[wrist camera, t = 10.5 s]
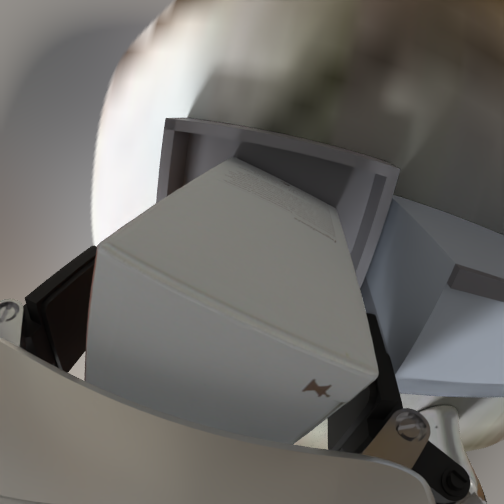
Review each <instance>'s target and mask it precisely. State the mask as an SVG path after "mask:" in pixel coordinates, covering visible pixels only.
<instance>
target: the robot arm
mask: <svg viewBox="0 0 504 504" xmlns="http://www.w3.org/2000/svg"><path fill="white" fill-rule="evenodd" d="M96 251H97V247H96V246H91V247H90V248H88V249H87V250H86V251H84V252H83V253H82V254H80V255H79V256H77V257H76V258H75V259H73V260H72V261H71V262H69V263H68V264H67V265H65V266H64V267H63V268H62V269H60V270H59V271H58V272H56V273H55V274H54V275H53V276H51V277H50V278H49V279H47V280H46V281H45V282H44V283H42V284H41V285H40V286H39V287H37V288H36V289H35V290H34V291H33V292H31V293H30V294H29V295H28V296H26V297H25V301H26V304H25V305H24V306H23V305H22V303H21V302H19V301H18V300H15V299H5V300H2V301H0V504H483V502H482V501H481V500H480V498H479V497H478V496H477V494H476V493H475V492H473V493H472V494H471V493H470V492H469V489H470V477H469V475H468V473H467V471H466V470H465V469H464V468H463V467H462V466H460V465H459V464H458V463H457V462H455V461H454V460H453V459H451V458H450V457H449V456H448V455H446V454H445V453H444V452H442V451H441V450H440V449H439V448H437V447H436V446H435V445H434V444H432V443H431V442H430V441H429V437H430V434H431V430H430V425H429V423H428V421H427V419H426V418H425V417H424V416H423V415H422V414H421V413H419V412H417V411H416V410H413V409H409V408H405V409H403V406H402V401H401V397H400V393H399V389H398V385H397V381H396V377H395V373H394V369H393V366H392V362H391V358H390V356H389V354H388V353H386V349H385V346H384V342H383V338H382V335H381V332H380V328H379V325H378V321H377V318H376V316H375V314H370V313H366V315H367V319H368V323H369V329H370V333H371V337H372V341H373V347H374V352H375V356H376V361H377V365H378V371H379V374H378V377H377V378H376V380H375V381H373V382H372V383H371V384H370V385H368V386H367V387H366V388H365V389H364V390H362V391H361V392H360V393H359V394H358V395H356V396H355V397H354V398H353V399H352V400H351V401H349V402H348V403H346V404H344V405H343V406H342V407H341V408H339V409H338V410H337V411H336V412H334V413H333V414H332V415H331V416H329V417H328V450H326V449H318V448H311V447H304V446H298V445H292V444H286V443H280V442H275V441H269V440H264V439H259V438H254V437H249V436H245V435H240V434H236V433H232V432H228V431H224V430H220V429H216V428H212V427H208V426H205V425H201V424H198V423H194V422H191V421H188V420H184V419H181V418H178V417H175V416H172V415H169V414H166V413H163V412H160V411H157V410H154V409H151V408H148V407H146V406H143V405H140V404H138V403H135V402H132V401H130V400H127V399H125V398H122V397H120V396H117V395H115V394H113V393H110V392H108V391H106V390H103V389H101V388H99V387H96V386H94V385H92V384H90V383H88V382H86V381H83V380H81V379H79V378H77V377H75V376H73V375H71V374H69V373H68V372H69V371H70V369H71V368H72V367H73V366H74V364H75V363H76V362H77V361H78V359H79V358H80V357H81V356H82V354H83V353H84V352H85V351H86V334H87V321H88V310H89V301H90V292H91V285H92V278H93V271H94V265H95V258H96Z"/></svg>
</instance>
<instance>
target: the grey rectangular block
mask: <svg viewBox="0 0 504 504" xmlns="http://www.w3.org/2000/svg"><path fill="white" fill-rule="evenodd" d="M360 291H361V294H362V298H363V302H364V306H365V309H366V313H370V314H375V316H376V318H377V321H378V325H379V328H380V332H381V335H382V338H383V342H384V346H385V349H386V353H388V354H389V356H390V358H391V362H392V366H393V369H394V373H395V377H396V381H397V385H398V389H399V393H404V394H415V395H429V396H447V397H504V235H502V234H499V233H497V232H494V231H492V230H490V229H487V228H485V227H482V226H480V225H477V224H475V223H472V222H470V221H467V220H465V219H462V218H459V217H457V216H454V215H451V214H449V213H446V212H443V211H440V210H438V209H435V208H432V207H429V206H426V205H423V204H420V203H417V202H414V201H411V200H408V199H405V198H402V197H399V196H396V195H393V197H392V200H391V204H390V207H389V210H388V213H387V216H386V219H385V222H384V225H383V228H382V231H381V234H380V237H379V240H378V243H377V246H376V249H375V251H374V254H373V257H372V260H371V262H370V265H369V268H368V270H367V273H366V276H365V278H364V281H363V283H362V286H361V288H360Z"/></svg>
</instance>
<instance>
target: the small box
mask: <svg viewBox="0 0 504 504" xmlns="http://www.w3.org/2000/svg"><path fill="white" fill-rule="evenodd" d="M378 374H379V371H378V365H377V361H376V356H375V352H374V347H373V341H372V337H371V333H370V329H369V323H368V319H367V315H366V311H365V307H364V303H363V299H362V295H361V291H360V288H359V284H358V281H357V276H356V273H355V270H354V266H353V262H352V259H351V255H350V252H349V249H348V246H347V242H346V239H345V235H344V232H343V229H342V226H341V223H340V220H339V216H338V213H337V210H336V208H334V207H332V206H330V205H328V204H327V203H325V202H323V201H321V200H319V199H317V198H316V197H314V196H312V195H310V194H308V193H306V192H304V191H302V190H300V189H299V188H297V187H295V186H293V185H291V184H289V183H287V182H285V181H283V180H281V179H279V178H277V177H275V176H273V175H271V174H269V173H267V172H265V171H263V170H261V169H259V168H257V167H255V166H253V165H251V164H248V163H246V162H244V161H242V160H240V159H238V158H236V157H231V158H229V159H227V160H226V161H224V162H222V163H221V164H219V165H217V166H216V167H214V168H212V169H210V170H209V171H207V172H205V173H204V174H202V175H200V176H199V177H197V178H195V179H194V180H192V181H190V182H189V183H188V184H186V185H184V186H183V187H181V188H179V189H178V190H176V191H175V192H173V193H172V194H170V195H168V196H167V197H165V198H164V199H162V200H161V201H159V202H158V203H156V204H155V205H153V206H152V207H150V208H149V209H148V210H146V211H145V212H143V213H142V214H140V215H139V216H137V217H136V218H135V219H133V220H132V221H130V222H128V223H127V224H126V225H124V226H123V227H121V228H120V229H118V230H117V231H116V232H114V233H113V234H112V235H110V236H109V237H107V238H106V239H105V240H103V241H102V242H100V243H99V244H98V245H97V251H96V258H95V265H94V271H93V278H92V285H91V292H90V301H89V310H88V321H87V334H86V356H85V381H86V382H88V383H90V384H92V385H94V386H96V387H99V388H101V389H103V390H106V391H108V392H110V393H113V394H115V395H117V396H120V397H122V398H125V399H127V400H130V401H132V402H135V403H138V404H140V405H143V406H146V407H148V408H151V409H154V410H157V411H160V412H163V413H166V414H169V415H172V416H175V417H178V418H181V419H184V420H188V421H191V422H194V423H198V424H201V425H205V426H208V427H212V428H216V429H220V430H224V431H228V432H232V433H236V434H240V435H245V436H249V437H254V438H259V439H264V440H269V441H275V442H280V443H286V444H292V445H293V444H294V443H295V442H297V441H298V440H299V439H301V438H302V437H303V436H305V435H306V434H308V433H309V432H310V431H311V430H313V429H314V428H315V427H316V426H318V425H319V424H320V423H322V422H323V421H324V420H325V419H327V418H328V417H329V416H331V415H332V414H333V413H334V412H336V411H337V410H338V409H339V408H341V407H342V406H343V405H344V404H346V403H348V402H349V401H351V400H352V399H353V398H354V397H355V396H356V395H358V394H359V393H360V392H361V391H362V390H364V389H365V388H366V387H367V386H368V385H370V384H371V383H372V382H373V381H375V380H376V378H377V377H378Z"/></svg>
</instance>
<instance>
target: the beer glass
mask: <svg viewBox="0 0 504 504" xmlns="http://www.w3.org/2000/svg"><path fill="white" fill-rule="evenodd" d="M419 413H421V414H422V415H423V416H424V417H425V418H426V419H427V421H428V423H429V425H430V430H431V434H430V437H429V441H430V442H431V443H432V444H434V445H435V446H436V447H437V448H439V449H440V450H441V451H442V452H444V453H445V454H446V455H448V456H449V457H450V458H451V459H453V460H454V461H455V462H457V463H458V464H459V465H460V466H462V467H463V468H464V469H465V470H466V471H467V473H468V475H469V477H470V489H469V492H470V493H471V494H472V493H473V492H475V493H476V494H477V496H478V497H479V498H480V500H481V501H482V502H483V504H487V501H486V497H485V494H484V491H483V489H482V486H481V483H480V481H479V479H478V477H477V475H476V473H475V471H474V469H473V467H472V465H471V463H470V461H469V459H468V456H467V455H466V452H465V450H464V447H463V444H462V440H461V435H460V427H459V417H458V412H457V410H456V409H455V408H454V407H452V406H448V405H439V406H434V407H430V408H427V409H424V410H422V411H420V412H419Z"/></svg>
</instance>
